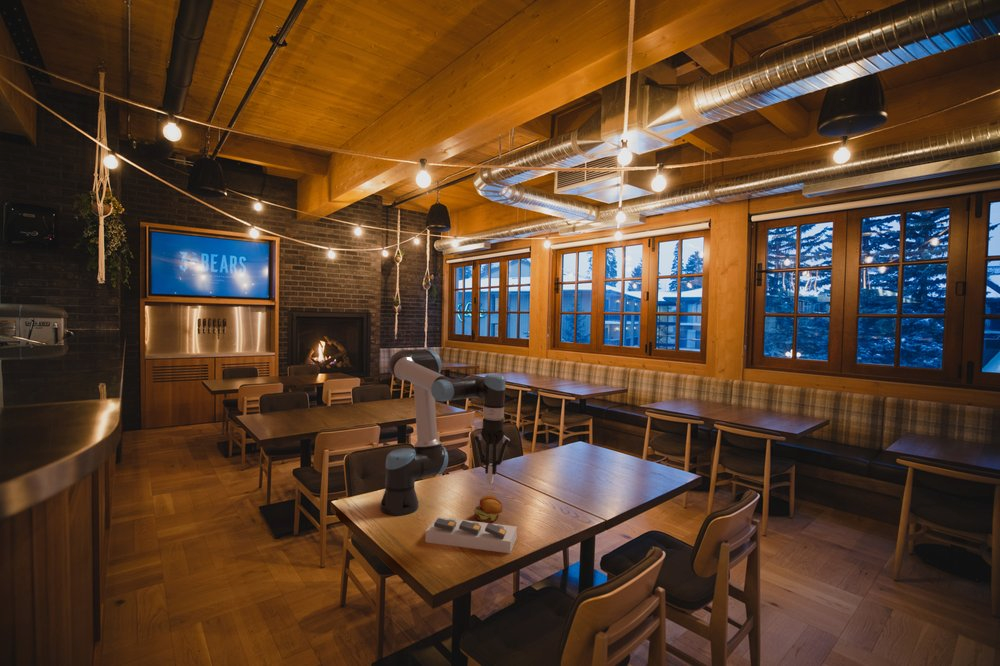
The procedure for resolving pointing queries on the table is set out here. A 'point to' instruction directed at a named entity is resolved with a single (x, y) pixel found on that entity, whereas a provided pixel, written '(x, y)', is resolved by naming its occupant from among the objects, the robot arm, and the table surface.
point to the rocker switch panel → (472, 537)
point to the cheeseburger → (488, 509)
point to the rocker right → (495, 530)
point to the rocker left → (445, 524)
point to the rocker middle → (470, 527)
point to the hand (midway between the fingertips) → (490, 482)
